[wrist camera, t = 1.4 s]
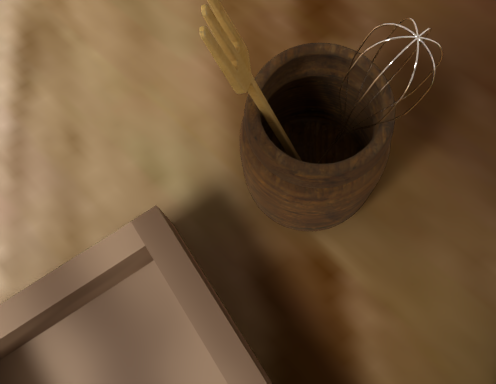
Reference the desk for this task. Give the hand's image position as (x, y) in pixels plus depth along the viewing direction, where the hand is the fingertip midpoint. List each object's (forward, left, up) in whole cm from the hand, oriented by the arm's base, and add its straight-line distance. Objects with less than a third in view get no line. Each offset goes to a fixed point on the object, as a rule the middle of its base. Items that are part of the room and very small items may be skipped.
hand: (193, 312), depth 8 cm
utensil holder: (+6, +4, -13) cm, 15 cm away
